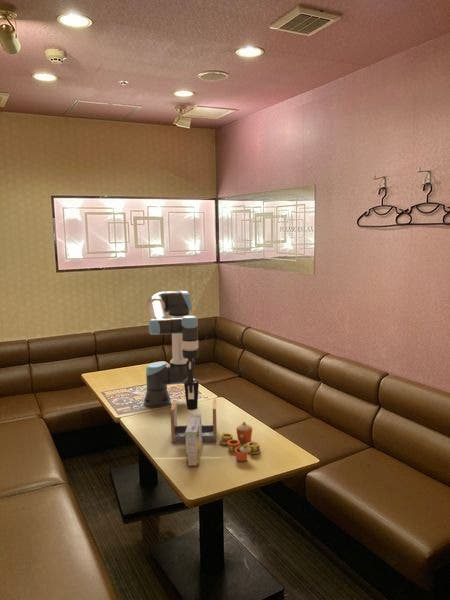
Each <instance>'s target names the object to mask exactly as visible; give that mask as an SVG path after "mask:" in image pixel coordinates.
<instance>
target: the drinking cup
mask: <svg viewBox="0 0 450 600" xmlns="http://www.w3.org/2000/svg"><path fill="white" fill-rule="evenodd" d="M183 382H184V385H183V386H184V394H185V395H184V396H185V401H186V408H187V410H188V411H196V410H197V409H198V401H199V388H200V387H199V384H200V379H198V378H193V384H194V399H188V386H186V385H188V378H187V379H185V380H184V381H183Z"/></svg>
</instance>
